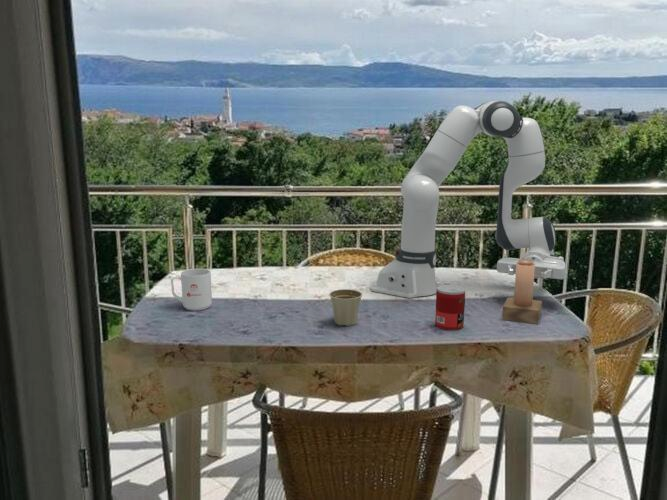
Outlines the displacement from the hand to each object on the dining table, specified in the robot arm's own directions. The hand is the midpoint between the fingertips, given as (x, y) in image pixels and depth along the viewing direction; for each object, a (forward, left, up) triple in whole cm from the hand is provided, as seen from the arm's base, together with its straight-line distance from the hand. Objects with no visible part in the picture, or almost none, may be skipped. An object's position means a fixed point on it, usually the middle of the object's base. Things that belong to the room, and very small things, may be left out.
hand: (526, 274), depth 192 cm
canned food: (-18, -22, -12) cm, 30 cm away
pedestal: (0, -6, -12) cm, 13 cm away
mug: (-95, -36, -12) cm, 102 cm away
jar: (0, -6, -8) cm, 9 cm away
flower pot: (-46, -31, -12) cm, 56 cm away
